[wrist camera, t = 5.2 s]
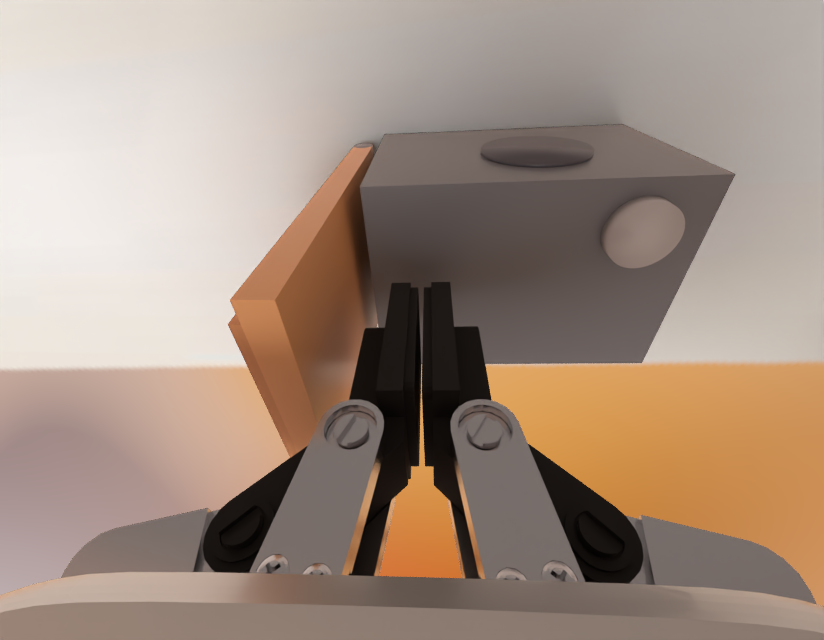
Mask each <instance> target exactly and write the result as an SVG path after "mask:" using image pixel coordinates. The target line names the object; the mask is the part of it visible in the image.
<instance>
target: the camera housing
mask: <svg viewBox="0 0 824 640" xmlns="http://www.w3.org/2000/svg"><path fill="white" fill-rule="evenodd" d="M734 176H735V174H734V173H732V172H729V171H727V170H725V169H723V168H720V167H718V166H716V165H714V164H711V163H709V162H707V161H705V160H702V159H700V158H698V157H696V156H693V155H691V154H689V153H686V152H684V151H682V150H680V149H677V148H675V147H673V146H671V145H668V144H666V143H664V142H662V141H659V140H657V139H655V138H653V137H650V136H648V135H646V134H643V133H641V132H639V131H637V130H634V129H632V128H630V127H628V126H625V125H623V124H617V125H593V126H570V127H547V128H523V129H500V130H476V131H453V132H430V133H406V134H385V135H384V137H383V139H382V141H381V143H380V145H379V147H378V149H377V152H376V154H375V156H374V158H373V160H372V162H371V164H370V166H369V169H368V171H367V173H366V175H365V177H364V179H363V181H362V183H361V185H360V193H361V200H362V207H363V215H364V222H365V230H366V237H367V245H368V252H369V260H370V267H371V274H372V282H373V289H374V297H375V304H376V312H377V319H378V327H379V328H385V323H386V317H387V310H388V304H389V297H390V290H391V284H392V283H411V287H418V293H419V317H420V341H421V364H422V357H423V302H424V287H431V282H450V286H451V297H452V308H453V319H454V327H464V326H478V328H479V332H480V338H481V344H482V349H483V355H484V361H485V364H535V363H642V362H643V359H644V357H645V355H646V353H647V351H648V349H649V347H650V345H651V343H652V341H653V339H654V337H655V335H656V333H657V331H658V329H659V327H660V325H661V323H662V321H663V319H664V317H665V315H666V313H667V311H668V309H669V307H670V305H671V303H672V301H673V299H674V297H675V295H676V293H677V291H678V289H679V287H680V285H681V283H682V281H683V279H684V277H685V275H686V273H687V271H688V269H689V267H690V265H691V263H692V261H693V259H694V257H695V255H696V253H697V251H698V249H699V247H700V245H701V243H702V240H703V238H704V236H705V234H706V232H707V230H708V228H709V226H710V224H711V222H712V220H713V218H714V216H715V214H716V212H717V210H718V208H719V206H720V204H721V202H722V200H723V198H724V196H725V194H726V192H727V190H728V188H729V186H730V184H731V182H732V180H733V178H734Z"/></svg>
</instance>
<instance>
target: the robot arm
mask: <svg viewBox="0 0 824 640" xmlns="http://www.w3.org/2000/svg"><path fill="white" fill-rule="evenodd" d="M420 394H421V341H420V317H419V293H418V287H411V283H392V284H391V290H390V297H389V304H388V310H387V317H386V323H385V328H365V330H364V333H363V338H362V343H361V347H360V352H359V356H358V361H357V365H356V370H355V374H354V379H353V383H352V388H351V392H350V397H349V400H347V401H343V402H340V403H338V404H336V405H334V406H332V407H331V408H330V409H329V410H328V411H327V412H325V413H324V415H323V416H322V418H321V419H320V421H319V422H318V425H317V427H316V429H315V431H314V433H313V435H312V438H311V440H310V442H309V444H308V446H306V447H305V448H304V449H302V450H301V451H299V452H298V453H297V454H295V455H294V456H292V457H291V458H290V459H288V460H287V461H285V462H284V463H282V464H281V465H280V466H278V467H277V468H275V469H274V470H273V471H271V472H270V473H268V474H267V475H266V476H264V477H263V478H262V479H260V480H259V481H257V482H256V483H254V484H253V485H252V486H250V487H249V488H247V489H246V490H245V491H243V492H242V493H240V494H239V495H238V496H236V497H235V498H233V499H232V500H231V501H229V502H228V503H227V504H226V505H225V506H224V507H223V508H221V509H220V510H216V511H211V510H210V509H209V508H205V509H200V510H196V511H191V512H187V513H182V514H178V515H173V516H169V517H164V518H160V519H155V520H151V521H146V522H142V523H137V524H132V525H128V526H123V527H119V528H115V529H112V530H109V531H107V532H104V533H101V534H100V535H98V536H97V537H95V538H94V539H92V540H91V541H89V542H88V543H87V544H86V545H85V546H84V547H83V548H82V549H81V550H80V551H79V552H78V553H77V554H76V555H75V556H74V557H73V558H72V560H71V562H70V563H69V565H68V566H67V568H66V569H65V571H64V573H63V575H62V577H61V578H58V579H54V580H49V581H45V582H41V583H36V584H33V585H30V586H27V587H23V588H20V589H17V590H14V591H11V592H8V593H5V594H2V595H0V640H824V606H820V605H817V604H816V602H815V600H814V598H813V596H812V593H811V591H810V590H809V588H808V587H807V585H806V584H805V582H804V581H803V579H802V578H801V576H800V575H799V573H797V571H795V570H794V569H793V568H792V567H791V566H790V565H789V564H788V563H787V562H786V561H785V560H784V559H783V558H782V557H780V556H779V555H777V554H776V553H774V552H773V551H771V550H769V549H768V548H766V547H764V546H761V545H759V544H756V543H754V542H751V541H747V540H743V539H739V538H735V537H731V536H727V535H723V534H718V533H714V532H710V531H706V530H702V529H698V528H693V527H689V526H685V525H681V524H677V523H672V522H668V521H664V520H660V519H656V518H652V517H648V516H643V515H640V517H639V518H638V519H637V518H633V517H628V516H625V515H624V514H623V513H622V512H620V511H619V510H618V509H617V508H616V507H615V506H613V505H612V504H610V503H609V502H608V501H606V500H605V499H604V498H602V497H601V496H600V495H598V494H597V493H595V492H594V491H593V490H591V489H590V488H588V487H587V486H586V485H584V484H583V483H582V482H580V481H579V480H578V479H576V478H575V477H573V476H572V475H570V474H569V473H568V472H566V471H565V470H564V469H562V468H561V467H560V466H558V465H557V464H555V463H554V462H553V461H551V460H550V459H549V458H547V457H546V456H544V455H543V454H542V453H540V452H539V451H538V450H536V449H535V448H533V447H532V446H531V445H529V444H528V443H527V441H526V439H525V436H524V434H523V431H522V429H521V427H520V424H519V422H518V420H517V419H516V417H515V415H514V414H513V413H512V412H511V411H510V410H509V409H508V408H507V407H505V406H503V405H501V404H499V403H498V402H494V401H491V395H490V389H489V384H488V378H487V372H486V367H485V361H484V355H483V349H482V344H481V338H480V332H479V328H478V326H464V327H454V319H453V308H452V297H451V286H450V282H431V287H424V302H423V357H422V402H423V426H424V450H425V466H434V486H436V487H437V488H438V489H439V490H440V491H441V492H442V493H443V494H444V495H445V496H446V497H447V498H448V505H449V511H450V516H451V521H452V526H453V532H454V537H455V542H456V547H457V553H458V558H459V563H460V568H461V574H462V578H426V577H389V576H388V577H387V576H379V574H380V569H381V565H382V560H383V556H384V551H385V546H386V542H387V537H388V533H389V528H390V523H391V518H392V514H393V510H394V505H395V496H396V495H397V494H398V493H399V492H400V491H401V490H402V489H404V488H405V487H406V486H407V485H408V479H410V478H411V466H419V443H420V442H419V440H420V398H421V397H420Z"/></svg>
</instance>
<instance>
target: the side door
mask: <svg viewBox="0 0 824 640" xmlns="http://www.w3.org/2000/svg"><path fill="white" fill-rule="evenodd" d="M373 158H374V148H373V144H370V143H363V144H357V145H355V146H354V147H353V148H352V149H351V150H350V152H349V153H348V154H347V155H346V157H345V158H344V159H343V160H342V162H341V163H340V164H339V165H338V167H337V168H336V169H335V170H334V172H333V173H332V174H331V175H330V177H329V178H328V179H327V180H326V182H325V183H324V184H323V185H322V186H321V188H320V189H319V190H318V191H317V193H316V194H315V195H314V196H313V198H312V199H311V200H310V201H309V203H308V204H307V205H306V206H305V208H304V209H303V210H302V211H301V213H300V214H299V215H298V216H297V218H296V219H295V220H294V221H293V222H292V224H291V225H290V226H289V227H288V229H287V230H286V231H285V232H284V234H283V235H282V236H281V237H280V239H279V240H278V241H277V242H276V244H275V245H274V246H273V247H272V249H271V250H270V251H269V252H268V254H267V255H266V256H265V257H264V258H263V260H262V261H261V262H260V263H259V265H258V266H257V267H256V268H255V270H254V271H253V272H252V273H251V275H250V276H249V277H248V278H247V280H246V281H245V282H244V283H243V285H242V286H241V287H240V288H239V290H238V291H237V292H236V293H235V294H234V296H233V297H232V298H231V299H230V302H231V304H232V306H233V308H234V311H235V313H236V314H235V316H234V317H233V318H232V320H231V321H230V322H229V324H228V326H229V328H230V330H231V332H232V334H233V336H234V338H235V341H236V343H237V345H238V347H239V349H240V351H241V353H242V356H243V358H244V360H245V362H246V364H247V366H248V368H249V370H250V373H251V375H252V377H253V379H254V381H255V383H256V385H257V388H258V390H259V392H260V394H261V396H262V398H263V400H264V402H265V405H266V406H267V409H268V411H269V413H270V415H271V417H272V419H273V422H274V424H275V426H276V428H277V430H278V432H279V434H280V437H281V439H282V441H283V443H284V445H285V447H286V449H287V451H288V453H289V456H290V458H291V457H292V456H294V455H295V454H297V453H298V452H299V451H301V450H302V449H304V448H305V447H306V446H308V444H309V442H310V440H311V438H312V435H313V433H314V431H315V429H316V427H317V425H318V422H319V421H320V419H321V418H322V416H323V415H324V413H325V412H327V411H328V410H329V409H330V408H331V407H332V406H334V405H336V404H338V403H340V402H343V401H347V400H349V397H350V392H351V388H352V383H353V379H354V374H355V370H356V365H357V361H358V356H359V352H360V347H361V343H362V338H363V333H364V330H365V328H377V324H378V319H377V312H376V304H375V297H374V289H373V282H372V274H371V267H370V260H369V252H368V245H367V237H366V230H365V222H364V215H363V207H362V200H361V193H360V185H361V183H362V181H363V179H364V177H365V175H366V173H367V171H368V169H369V166H370V164H371V162H372V160H373Z"/></svg>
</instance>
